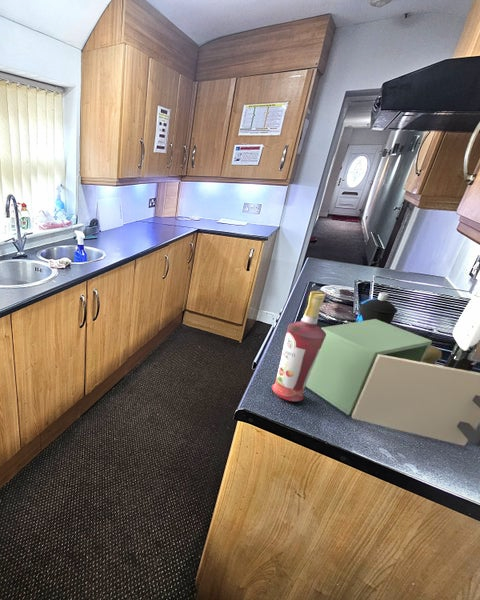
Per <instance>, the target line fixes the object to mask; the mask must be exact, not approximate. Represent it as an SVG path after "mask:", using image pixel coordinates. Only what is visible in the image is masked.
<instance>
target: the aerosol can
mask: <svg viewBox="0 0 480 600" xmlns="http://www.w3.org/2000/svg"><path fill="white" fill-rule="evenodd" d="M388 297H389V293H387V292H383V291H382V292H379V293H378V296H377V298H369V299H366V300H364V301H361V302H360V305H361V306H360V308H359V311H358V313H357V316H356V319H355V321H354V322H360V321H366V320H372V319H377V320H379V321H382V322H385V323H387V324H390V325H392V322H393V320H394V317H395V315H396V313H398V309H397V308H396V307H395V305H394V304H393V303H391V302H390V301H388V300H387V299H388Z"/></svg>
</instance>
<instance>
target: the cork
mask: <svg viewBox="0 0 480 600" xmlns="http://www.w3.org/2000/svg"><path fill="white" fill-rule="evenodd" d="M442 357H443V352H442V350H441V349H440V348H439V347H437V346H434V345H432V344H431V345H430V347H429V349H428V351H427V353H426V355H425V357H424V359H423V361H422V362H423V363H428V364H434V365H436V362H438V361H440V359H442Z"/></svg>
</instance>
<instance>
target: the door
mask: <svg viewBox="0 0 480 600" xmlns="http://www.w3.org/2000/svg"><path fill="white" fill-rule="evenodd" d="M351 418H352V419H353V420H357V421H361V422H365V423H369V424H373V425H376V426H377V425H378V426H381V427H385V428H387V429H393V430H397V431H401V432H405V433H409V434H414V435H417V436H422V437H424V438H425V437H426V438H430V439H435V440H437V441H443V442H445V443H450V444H451V443H452V444H454V445H455V444H456V445H459V446H463V447H466V445H467V443H468V442H470V443H471V444H472V445H474V446H478V447H480V372H476V371H472V370H471V371H466V370H461V369H455V368H450V367H445V366H444V365H439V364H435V365H434V364H428V363H423V362H418V361H412V360H407V359H402V358H396V357H391V356H386V355H380V354H378V355H377V357H376V359H375V362H374V364H373V366H372V369H371V371H370V374H369V376H368V378H367V381H366V383H365V385H364V388H363V390H362V392H361V395H360V397H359V399H358V402H357V404H356V406H355V409H354V411H353V413H352V414H351Z"/></svg>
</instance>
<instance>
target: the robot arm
mask: <svg viewBox="0 0 480 600" xmlns="http://www.w3.org/2000/svg"><path fill="white" fill-rule="evenodd" d="M466 296H467V297H469V298H471V299H470V300H469V301H468V303H467V304H466V306H465V308H464V310H463V311H462V313H461V315H460V316H459V318H458V320H457V322H456V324H455V325H454V328H453V330H452V337H453V339H454V340H455V344H454V345H453V348H452V350H451V353H450V355H449V356H448V357H447V360H446V362H445V363H444V365H443V366H445V367H450V368H455V369H461V370H466V371H471V372H472V370H473V368H474V366H475V365H476V364H477V363H480V270H479V271H478V273H477V275H476V277H475V279H474V281H473V282H472V284H471V286H470V288H469V290H468V292H467V294H466Z"/></svg>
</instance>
